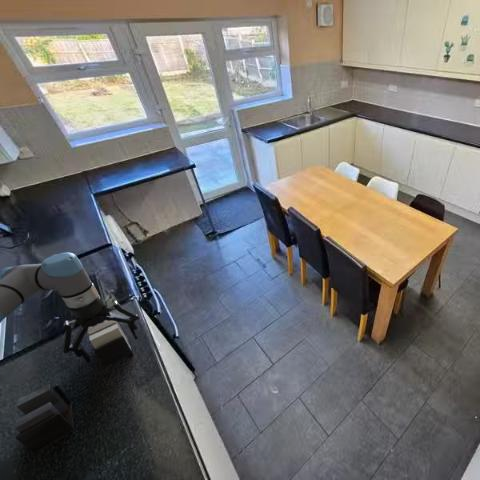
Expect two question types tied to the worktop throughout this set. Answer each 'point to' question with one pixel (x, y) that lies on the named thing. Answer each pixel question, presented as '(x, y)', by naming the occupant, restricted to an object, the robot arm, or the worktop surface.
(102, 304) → the robot arm
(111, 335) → the cream book
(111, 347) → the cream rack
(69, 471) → the worktop surface
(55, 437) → the grey rack
